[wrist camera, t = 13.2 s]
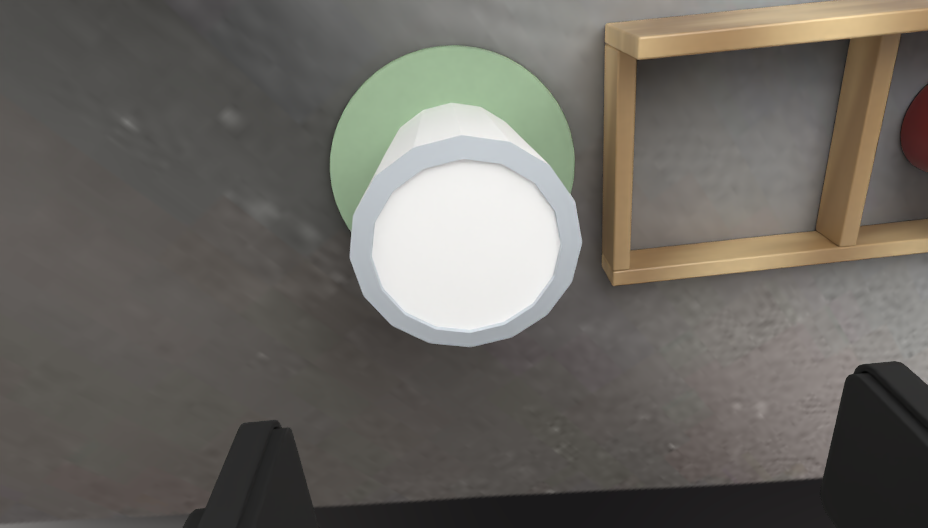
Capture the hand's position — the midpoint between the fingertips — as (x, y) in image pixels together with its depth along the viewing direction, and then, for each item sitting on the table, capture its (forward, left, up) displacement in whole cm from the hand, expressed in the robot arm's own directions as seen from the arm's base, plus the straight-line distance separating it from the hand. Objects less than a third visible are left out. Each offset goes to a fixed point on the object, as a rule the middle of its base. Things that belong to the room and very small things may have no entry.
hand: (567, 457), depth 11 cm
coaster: (+1, 0, -16) cm, 16 cm away
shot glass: (+1, 0, -16) cm, 16 cm away
